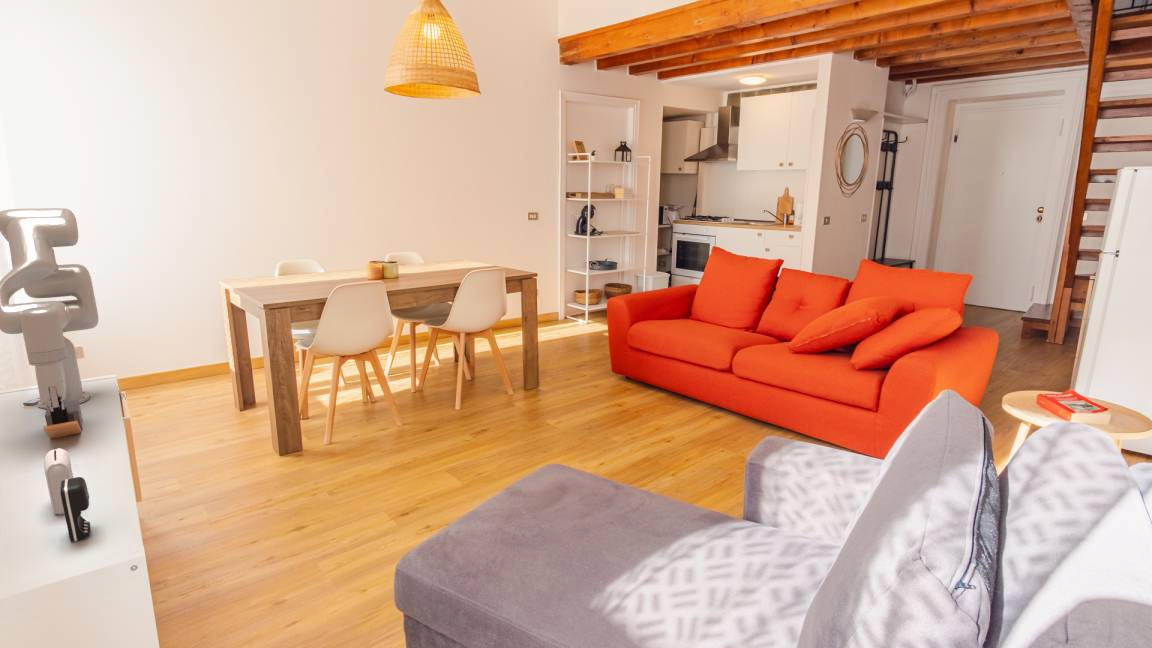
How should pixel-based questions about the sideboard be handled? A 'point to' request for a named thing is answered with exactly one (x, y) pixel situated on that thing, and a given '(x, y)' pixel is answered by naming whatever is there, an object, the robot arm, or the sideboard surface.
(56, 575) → the sideboard surface
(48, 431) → the side door
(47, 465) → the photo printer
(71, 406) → the camera housing
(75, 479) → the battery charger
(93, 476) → the sideboard surface
